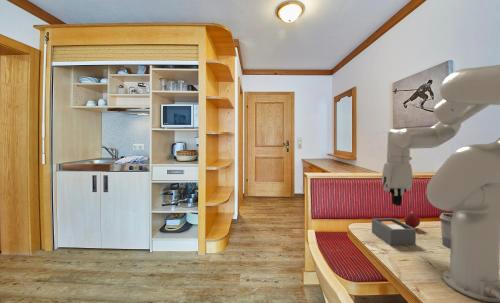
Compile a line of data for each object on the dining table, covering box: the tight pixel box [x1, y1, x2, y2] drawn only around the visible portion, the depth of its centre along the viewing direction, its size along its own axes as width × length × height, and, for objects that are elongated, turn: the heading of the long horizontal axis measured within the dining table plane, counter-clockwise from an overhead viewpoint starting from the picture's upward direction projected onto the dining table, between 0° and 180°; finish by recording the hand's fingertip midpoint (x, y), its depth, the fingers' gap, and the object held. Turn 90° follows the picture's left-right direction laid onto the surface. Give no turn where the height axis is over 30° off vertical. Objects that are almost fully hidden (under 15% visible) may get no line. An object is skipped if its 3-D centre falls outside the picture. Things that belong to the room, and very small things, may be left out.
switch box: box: [371, 217, 417, 246], centre depth 92 cm, size 13×10×6 cm
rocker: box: [381, 221, 405, 229], centre depth 92 cm, size 8×5×1 cm, turn 2°
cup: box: [439, 212, 454, 249], centre depth 85 cm, size 7×7×12 cm
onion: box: [403, 211, 421, 229], centre depth 102 cm, size 6×6×8 cm
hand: (396, 204), depth 89 cm, fingers closed
